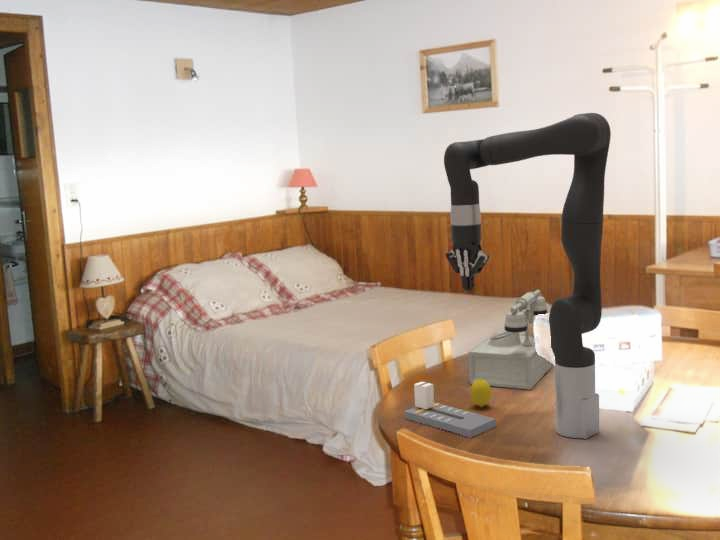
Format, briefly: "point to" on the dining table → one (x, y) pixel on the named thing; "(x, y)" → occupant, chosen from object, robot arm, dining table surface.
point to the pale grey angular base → (511, 349)
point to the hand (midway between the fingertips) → (468, 290)
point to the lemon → (480, 392)
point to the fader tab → (424, 395)
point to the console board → (451, 419)
